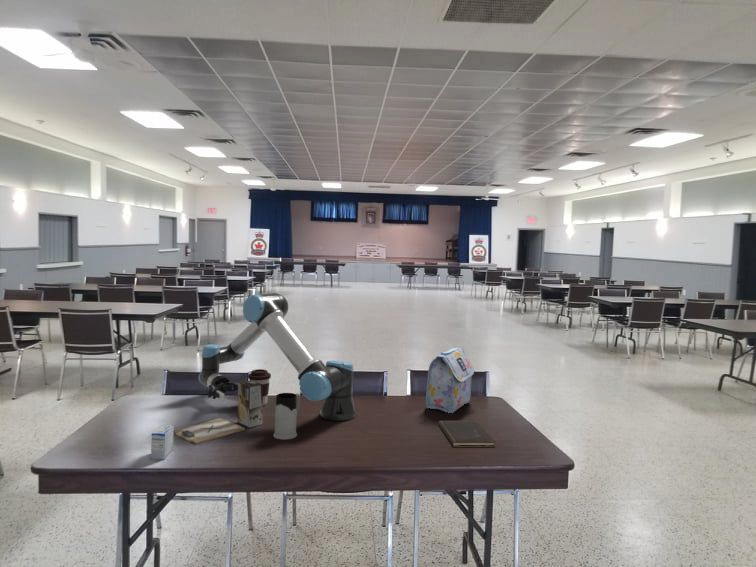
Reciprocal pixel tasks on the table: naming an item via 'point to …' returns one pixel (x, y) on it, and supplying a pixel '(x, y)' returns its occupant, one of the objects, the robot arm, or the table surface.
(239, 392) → the coffee box
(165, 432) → the medicine box
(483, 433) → the hardcover book
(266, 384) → the coffee cup
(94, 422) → the table surface
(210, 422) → the clipboard
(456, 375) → the lunch bag
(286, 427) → the grey mug
